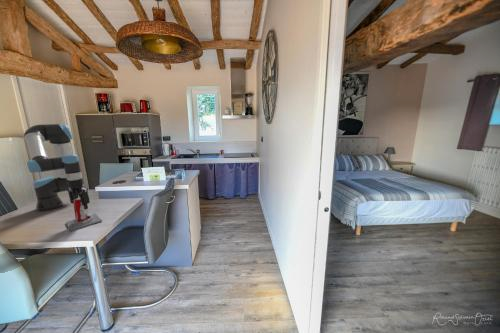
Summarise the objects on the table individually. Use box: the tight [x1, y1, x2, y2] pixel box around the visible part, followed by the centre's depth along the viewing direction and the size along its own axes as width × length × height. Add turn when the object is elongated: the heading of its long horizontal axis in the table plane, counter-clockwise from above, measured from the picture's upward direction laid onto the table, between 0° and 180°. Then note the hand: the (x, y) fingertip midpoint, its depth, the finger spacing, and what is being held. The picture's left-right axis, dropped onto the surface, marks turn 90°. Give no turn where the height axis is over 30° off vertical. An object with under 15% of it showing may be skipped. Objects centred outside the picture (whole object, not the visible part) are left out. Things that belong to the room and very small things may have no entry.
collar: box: [72, 214, 94, 225], centre depth 133 cm, size 10×10×2 cm
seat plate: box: [65, 213, 103, 232], centre depth 133 cm, size 16×16×1 cm
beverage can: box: [72, 196, 88, 221], centre depth 131 cm, size 6×6×15 cm
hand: (82, 213), depth 132 cm, fingers open, 5 cm apart
